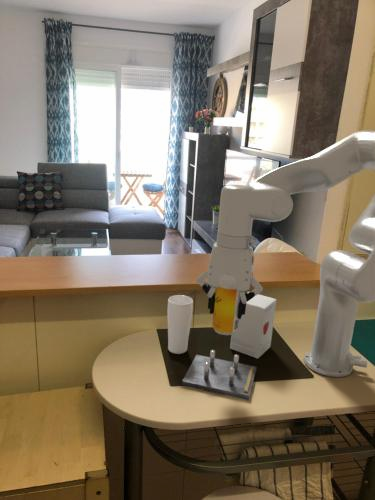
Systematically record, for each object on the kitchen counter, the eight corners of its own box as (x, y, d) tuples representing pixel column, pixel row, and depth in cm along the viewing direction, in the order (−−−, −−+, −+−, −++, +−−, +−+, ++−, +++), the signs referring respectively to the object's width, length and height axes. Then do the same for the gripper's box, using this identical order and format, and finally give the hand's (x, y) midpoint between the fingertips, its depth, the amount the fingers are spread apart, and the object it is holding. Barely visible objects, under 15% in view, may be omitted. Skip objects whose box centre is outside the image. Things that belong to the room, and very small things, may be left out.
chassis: (256, 370, 108) (258, 352, 106) (248, 400, 96) (251, 380, 94) (196, 358, 112) (197, 341, 110) (182, 385, 100) (183, 366, 98)
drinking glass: (193, 347, 117) (197, 298, 113) (183, 358, 111) (186, 306, 107) (172, 341, 120) (174, 292, 116) (160, 352, 114) (163, 301, 110)
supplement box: (258, 359, 113) (264, 308, 109) (229, 349, 118) (234, 299, 114) (271, 346, 121) (277, 298, 116) (243, 337, 125) (248, 290, 121)
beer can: (217, 322, 104) (223, 265, 100) (240, 328, 102) (247, 270, 97) (207, 331, 99) (213, 271, 95) (232, 338, 96) (238, 277, 92)
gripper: (273, 242, 95) (264, 314, 100) (200, 232, 100) (195, 302, 105) (270, 250, 88) (260, 327, 93) (192, 239, 93) (186, 314, 98)
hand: (226, 313), depth 99 cm, fingers closed on beer can, 6 cm apart
